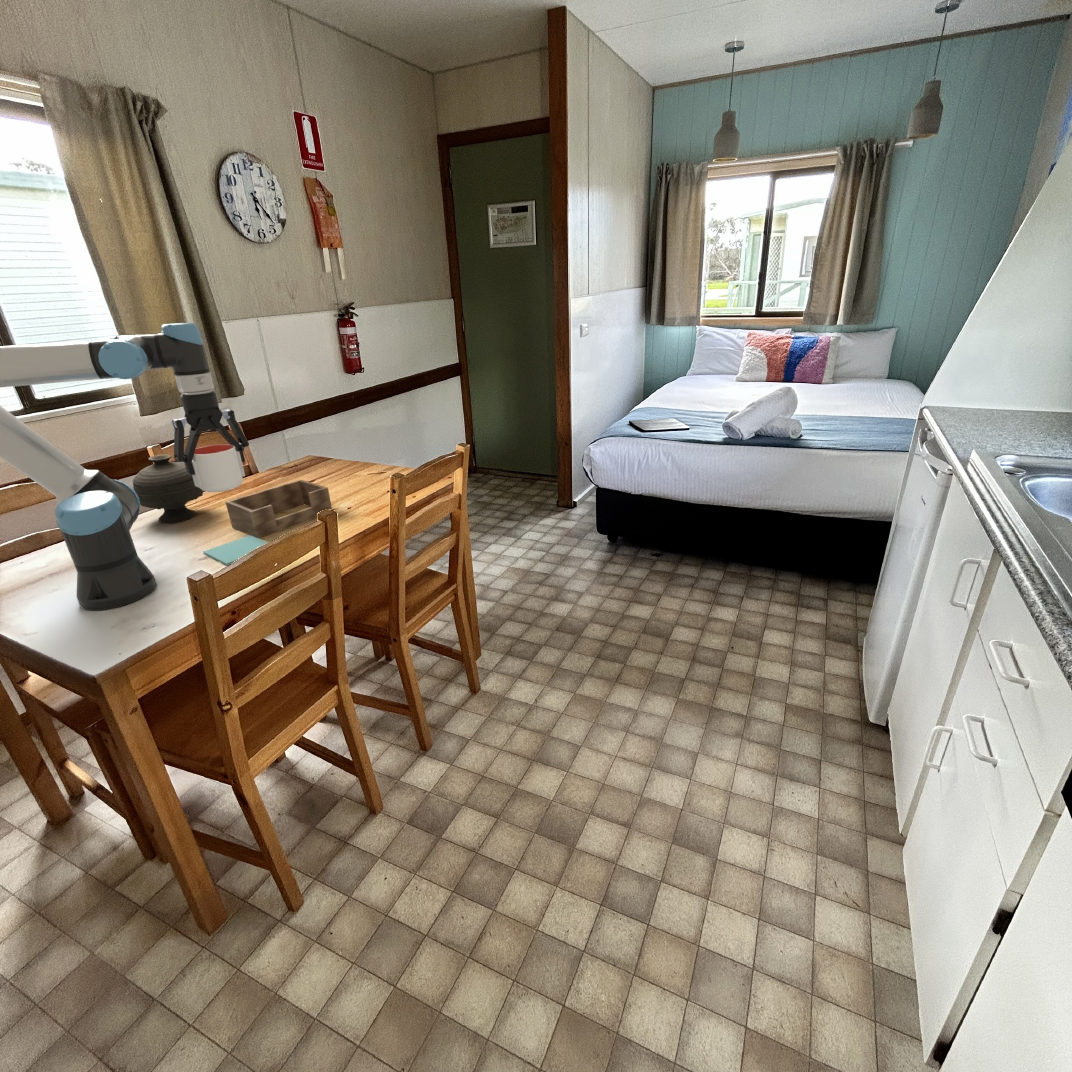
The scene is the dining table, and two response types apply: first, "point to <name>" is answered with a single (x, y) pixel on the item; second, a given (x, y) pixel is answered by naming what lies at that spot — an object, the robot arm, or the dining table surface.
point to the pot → (166, 489)
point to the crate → (277, 507)
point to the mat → (234, 549)
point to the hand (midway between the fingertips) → (220, 480)
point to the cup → (218, 467)
